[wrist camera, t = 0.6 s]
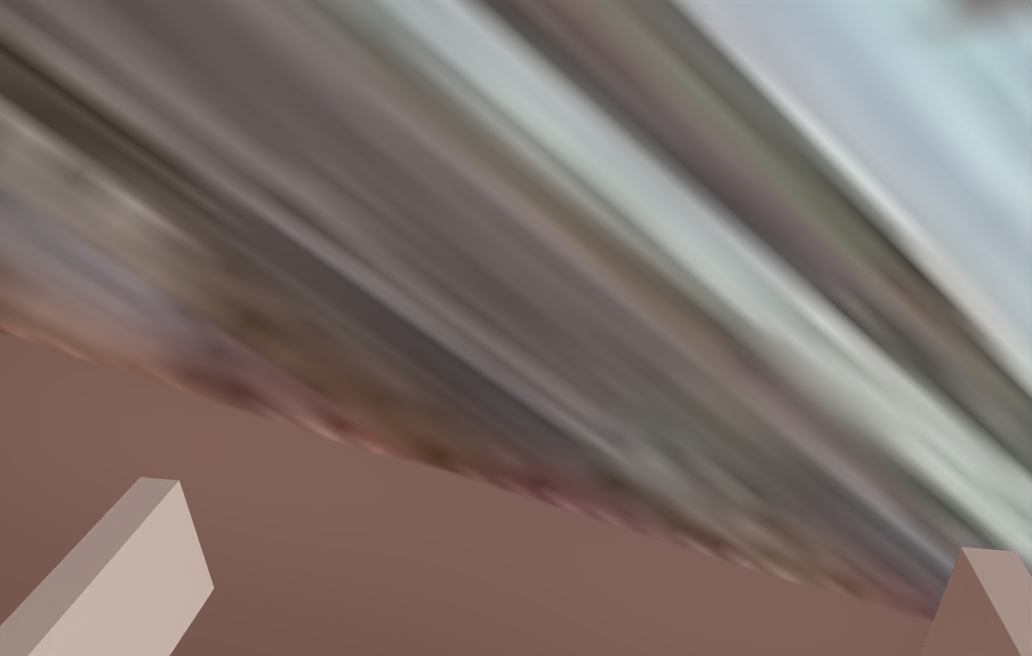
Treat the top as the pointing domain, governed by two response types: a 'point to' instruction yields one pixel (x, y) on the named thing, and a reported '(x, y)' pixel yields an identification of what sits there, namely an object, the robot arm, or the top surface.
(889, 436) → the top surface
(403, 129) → the top surface
